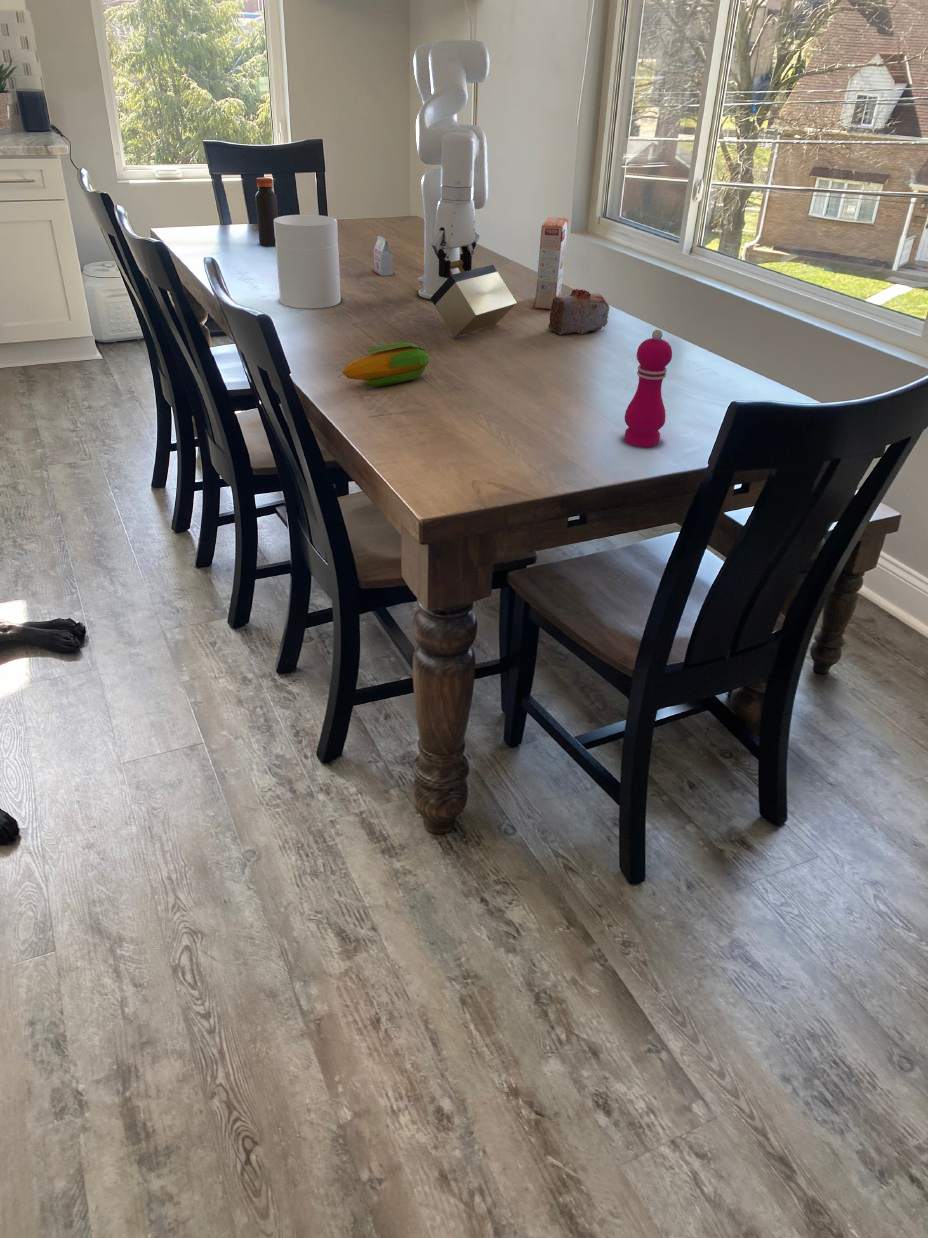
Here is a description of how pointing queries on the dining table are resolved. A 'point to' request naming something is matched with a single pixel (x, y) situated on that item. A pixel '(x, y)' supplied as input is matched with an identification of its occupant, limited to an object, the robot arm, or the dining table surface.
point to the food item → (578, 313)
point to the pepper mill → (648, 393)
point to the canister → (307, 261)
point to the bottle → (266, 211)
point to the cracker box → (551, 261)
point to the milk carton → (383, 257)
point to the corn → (389, 365)
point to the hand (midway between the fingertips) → (455, 273)
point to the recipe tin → (472, 299)
